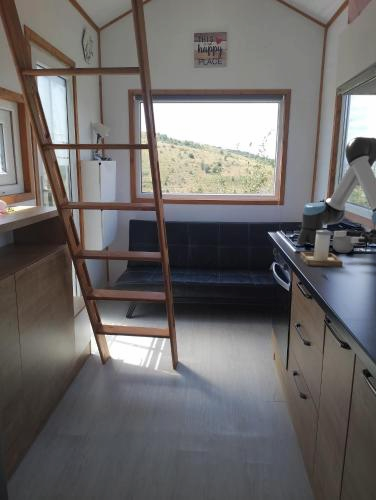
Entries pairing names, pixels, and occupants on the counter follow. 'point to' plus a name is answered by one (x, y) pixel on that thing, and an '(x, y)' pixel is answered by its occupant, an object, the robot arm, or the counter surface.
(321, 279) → the counter surface
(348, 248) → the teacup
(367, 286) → the counter surface
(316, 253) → the canister
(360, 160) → the robot arm
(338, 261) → the tray
